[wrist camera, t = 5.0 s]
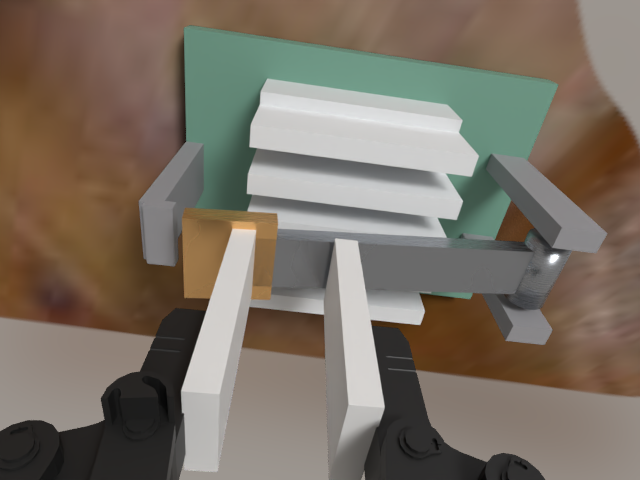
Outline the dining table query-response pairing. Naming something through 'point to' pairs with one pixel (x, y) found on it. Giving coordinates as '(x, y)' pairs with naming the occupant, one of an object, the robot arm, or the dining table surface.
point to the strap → (369, 259)
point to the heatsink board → (360, 157)
